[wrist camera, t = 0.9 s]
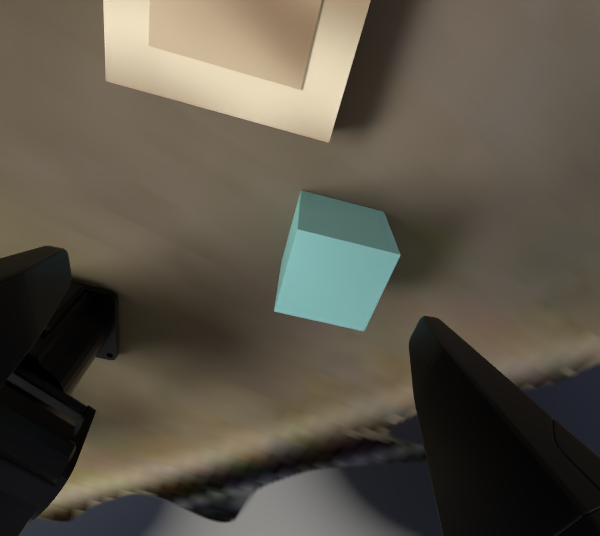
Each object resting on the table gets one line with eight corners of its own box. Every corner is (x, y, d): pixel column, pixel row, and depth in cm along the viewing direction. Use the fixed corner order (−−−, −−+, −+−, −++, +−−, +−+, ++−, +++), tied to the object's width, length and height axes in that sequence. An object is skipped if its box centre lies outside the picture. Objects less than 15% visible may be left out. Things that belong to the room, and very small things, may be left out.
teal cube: (355, 279, 24) (364, 331, 20) (281, 261, 23) (274, 311, 19) (383, 211, 21) (400, 254, 17) (301, 189, 21) (297, 229, 17)
